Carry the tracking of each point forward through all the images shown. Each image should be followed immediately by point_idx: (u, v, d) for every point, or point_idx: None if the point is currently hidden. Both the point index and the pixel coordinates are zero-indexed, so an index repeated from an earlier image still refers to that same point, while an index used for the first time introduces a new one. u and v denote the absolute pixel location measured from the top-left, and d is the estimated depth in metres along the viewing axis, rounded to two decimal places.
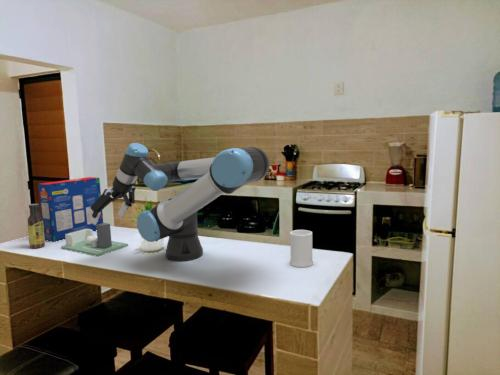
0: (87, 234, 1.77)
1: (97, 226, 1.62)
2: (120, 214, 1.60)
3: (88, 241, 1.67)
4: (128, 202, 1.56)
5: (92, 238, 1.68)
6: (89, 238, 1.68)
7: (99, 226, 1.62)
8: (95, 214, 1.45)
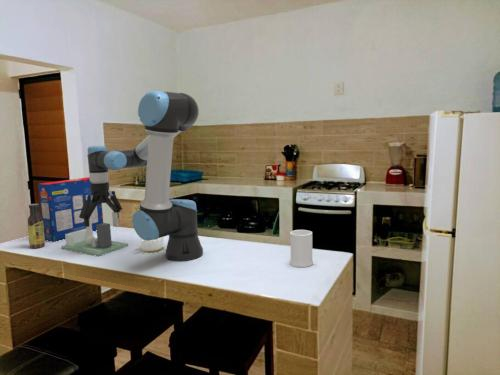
0: (87, 234, 1.77)
1: (97, 226, 1.62)
2: (114, 224, 1.69)
3: (88, 241, 1.67)
4: (115, 208, 1.67)
5: (92, 238, 1.68)
6: (89, 238, 1.68)
7: (99, 226, 1.62)
8: (86, 222, 1.56)
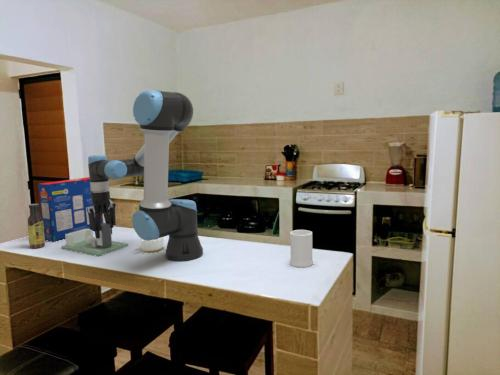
0: (87, 234, 1.77)
1: None
2: None
3: (88, 241, 1.67)
4: (110, 222, 1.65)
5: (92, 238, 1.68)
6: (89, 238, 1.68)
7: None
8: (97, 233, 1.60)
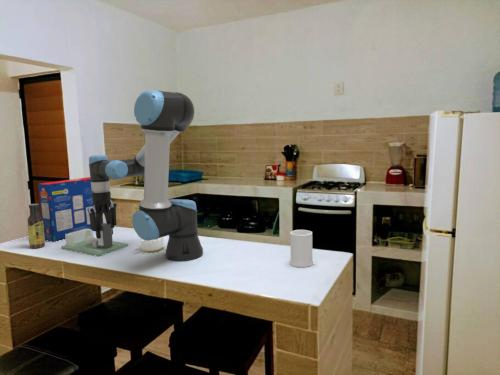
0: (87, 234, 1.77)
1: None
2: None
3: (88, 241, 1.67)
4: (111, 222, 1.65)
5: (92, 238, 1.68)
6: (89, 238, 1.68)
7: None
8: (98, 234, 1.60)
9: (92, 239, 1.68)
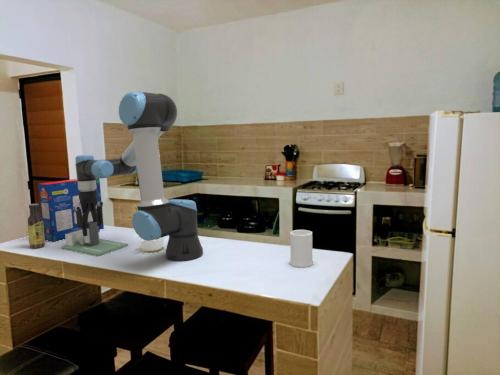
0: None
1: None
2: None
3: None
4: (97, 220, 1.69)
5: None
6: None
7: None
8: (84, 231, 1.64)
9: None
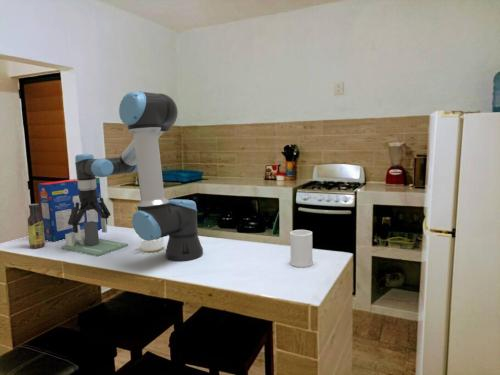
0: None
1: (84, 224, 1.67)
2: (103, 230, 1.74)
3: None
4: (103, 214, 1.72)
5: None
6: None
7: (86, 224, 1.66)
8: (75, 228, 1.60)
9: None
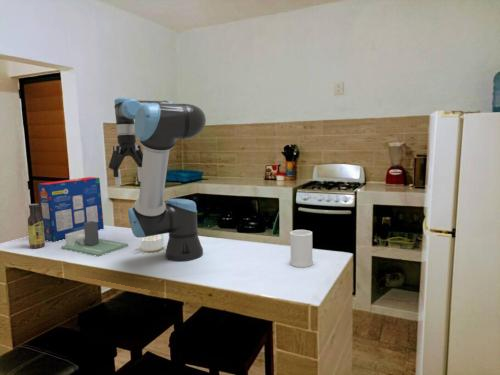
0: None
1: (84, 224, 1.67)
2: (140, 179, 1.71)
3: None
4: (141, 162, 1.69)
5: None
6: None
7: (86, 224, 1.66)
8: (115, 172, 1.57)
9: None
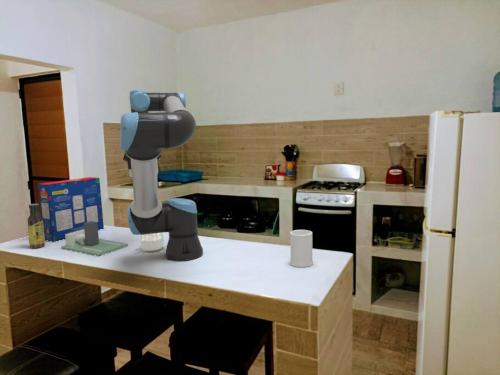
0: None
1: (84, 224, 1.67)
2: None
3: (76, 239, 1.72)
4: None
5: None
6: (77, 241, 1.72)
7: (86, 224, 1.66)
8: (130, 164, 1.58)
9: None
